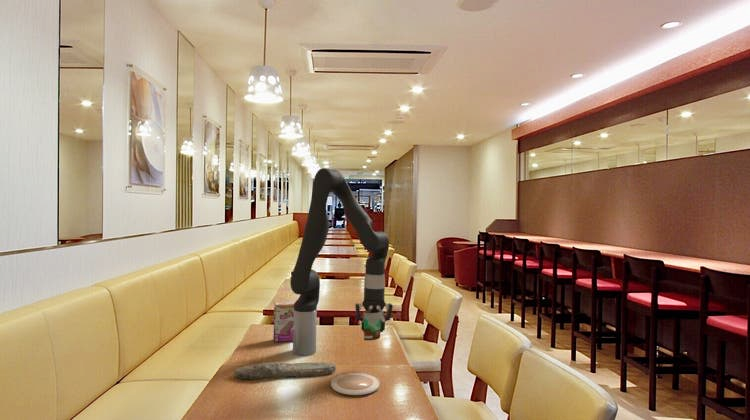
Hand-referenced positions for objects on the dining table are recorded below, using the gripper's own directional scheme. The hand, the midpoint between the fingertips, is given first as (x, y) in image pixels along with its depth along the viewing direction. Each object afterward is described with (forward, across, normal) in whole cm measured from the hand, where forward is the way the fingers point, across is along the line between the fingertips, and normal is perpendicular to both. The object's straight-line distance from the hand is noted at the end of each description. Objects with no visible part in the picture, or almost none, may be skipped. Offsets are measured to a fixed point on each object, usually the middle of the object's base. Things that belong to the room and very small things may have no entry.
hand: (372, 331), depth 163 cm
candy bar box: (+15, +33, -37) cm, 51 cm away
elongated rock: (+15, +31, +2) cm, 34 cm away
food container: (+2, -1, 0) cm, 2 cm away
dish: (+14, +8, +15) cm, 22 cm away
